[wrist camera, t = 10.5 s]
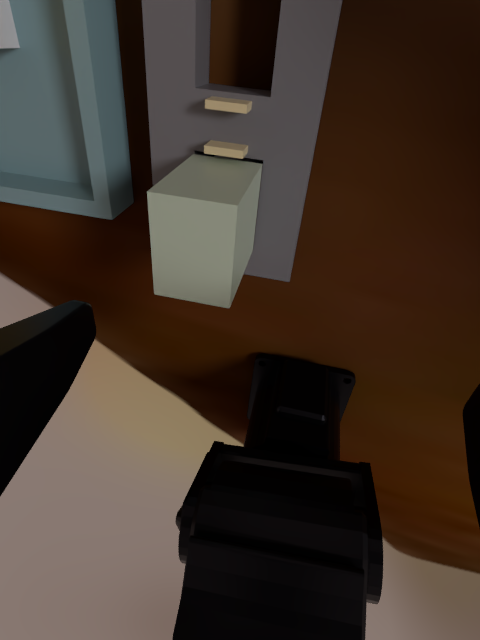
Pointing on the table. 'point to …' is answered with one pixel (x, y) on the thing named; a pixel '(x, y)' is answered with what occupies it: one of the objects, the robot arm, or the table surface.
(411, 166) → the table surface
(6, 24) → the block
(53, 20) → the parts tray
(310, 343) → the table surface
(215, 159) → the block
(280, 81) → the block
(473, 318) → the table surface
